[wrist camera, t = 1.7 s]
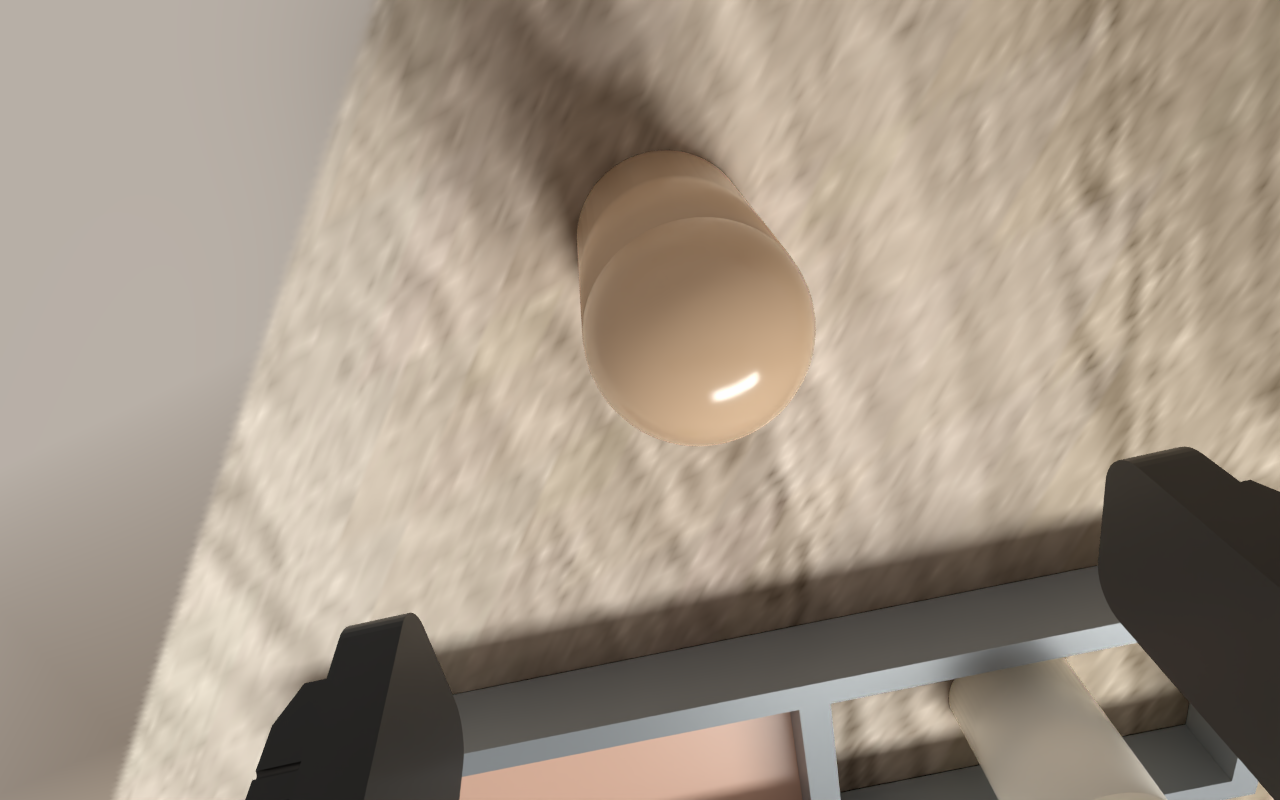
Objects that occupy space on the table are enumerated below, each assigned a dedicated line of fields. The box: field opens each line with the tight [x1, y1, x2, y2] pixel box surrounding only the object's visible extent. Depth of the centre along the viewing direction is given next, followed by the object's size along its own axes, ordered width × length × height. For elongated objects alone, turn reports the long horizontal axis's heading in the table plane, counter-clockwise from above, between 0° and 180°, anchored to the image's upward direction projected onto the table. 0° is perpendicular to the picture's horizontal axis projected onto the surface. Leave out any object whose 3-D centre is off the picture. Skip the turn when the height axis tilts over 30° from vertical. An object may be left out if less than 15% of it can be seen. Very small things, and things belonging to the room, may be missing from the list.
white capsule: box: [949, 657, 1167, 800], centre depth 26 cm, size 4×4×8 cm
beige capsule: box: [577, 150, 816, 446], centre depth 17 cm, size 4×4×8 cm
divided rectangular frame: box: [453, 566, 1258, 800], centre depth 29 cm, size 31×10×2 cm, turn 100°
